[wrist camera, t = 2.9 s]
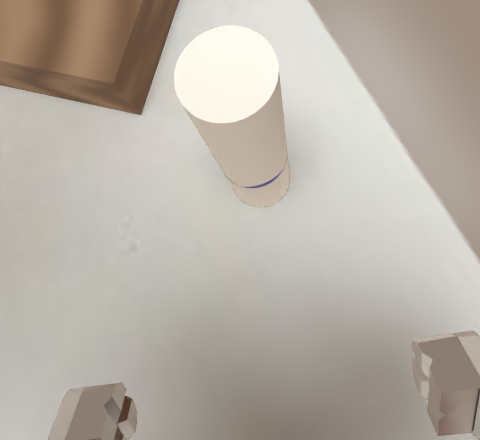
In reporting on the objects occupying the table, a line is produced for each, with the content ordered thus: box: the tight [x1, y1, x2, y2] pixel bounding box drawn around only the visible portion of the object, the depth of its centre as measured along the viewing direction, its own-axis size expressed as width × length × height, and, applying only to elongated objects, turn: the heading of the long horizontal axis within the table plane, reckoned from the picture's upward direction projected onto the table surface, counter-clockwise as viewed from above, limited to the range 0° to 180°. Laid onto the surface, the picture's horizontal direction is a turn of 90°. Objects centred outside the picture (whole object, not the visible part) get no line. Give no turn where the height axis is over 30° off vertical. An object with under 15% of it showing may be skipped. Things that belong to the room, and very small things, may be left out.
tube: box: [174, 26, 290, 207], centre depth 24 cm, size 4×4×15 cm
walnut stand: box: [0, 0, 179, 115], centre depth 34 cm, size 14×14×5 cm
